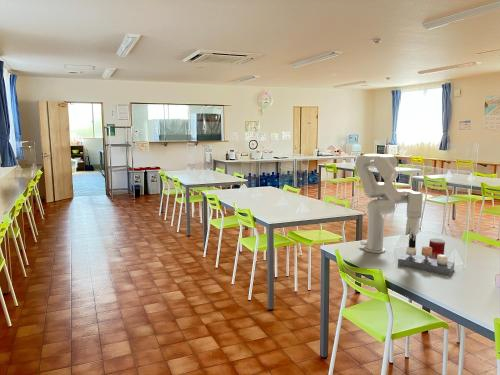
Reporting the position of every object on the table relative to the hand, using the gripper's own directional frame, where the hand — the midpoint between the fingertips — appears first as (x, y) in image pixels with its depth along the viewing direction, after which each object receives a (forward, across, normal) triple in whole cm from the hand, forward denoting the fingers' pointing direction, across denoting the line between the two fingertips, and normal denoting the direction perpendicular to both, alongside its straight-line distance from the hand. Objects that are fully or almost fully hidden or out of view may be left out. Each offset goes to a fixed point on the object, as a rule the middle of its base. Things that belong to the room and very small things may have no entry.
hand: (411, 247), depth 227 cm
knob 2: (+9, 0, +16) cm, 18 cm away
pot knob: (+6, 0, +8) cm, 10 cm away
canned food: (+10, -20, +9) cm, 24 cm away
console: (+10, 0, +8) cm, 13 cm away
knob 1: (+7, 0, 0) cm, 7 cm away
